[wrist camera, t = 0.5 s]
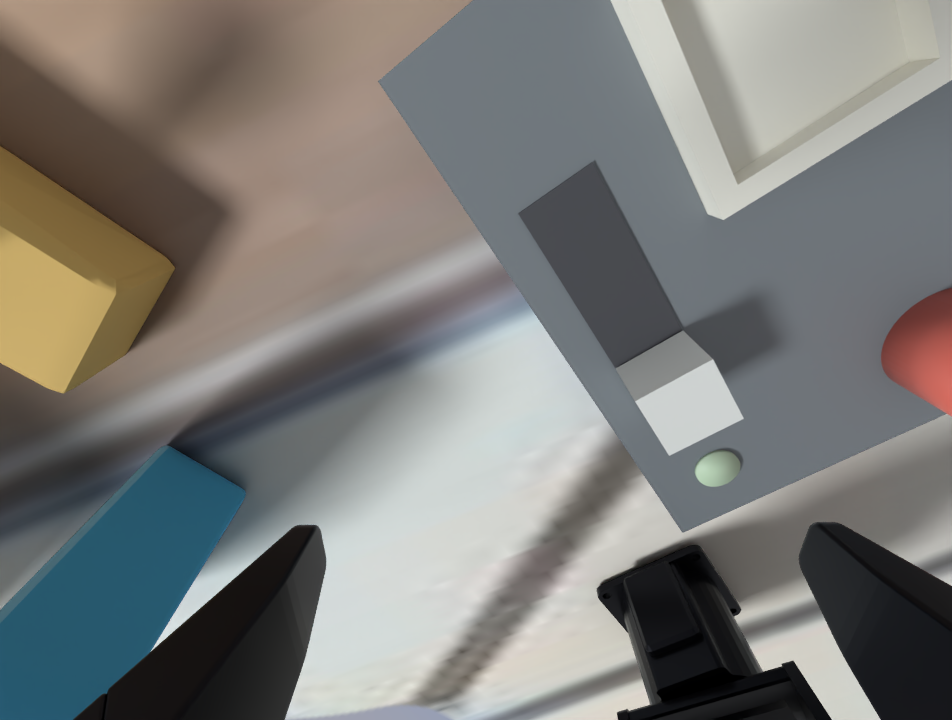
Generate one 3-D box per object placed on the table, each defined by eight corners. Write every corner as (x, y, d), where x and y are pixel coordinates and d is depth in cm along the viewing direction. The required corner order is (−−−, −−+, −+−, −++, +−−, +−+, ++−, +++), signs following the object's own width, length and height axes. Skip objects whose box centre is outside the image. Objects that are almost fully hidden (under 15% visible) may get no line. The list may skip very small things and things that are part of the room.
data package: (152, 596, 28) (-48, 888, 17) (77, 560, 27) (-192, 854, 16) (257, 479, 24) (83, 762, 13) (175, 430, 23) (-92, 702, 12)
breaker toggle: (711, 384, 20) (743, 418, 17) (646, 418, 20) (669, 455, 18) (682, 330, 19) (713, 359, 16) (615, 368, 19) (635, 401, 17)
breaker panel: (1023, 346, 21) (1095, 375, 19) (671, 511, 25) (692, 551, 23) (895, -346, 12) (1000, -464, 10) (385, 85, 16) (370, 77, 14)
